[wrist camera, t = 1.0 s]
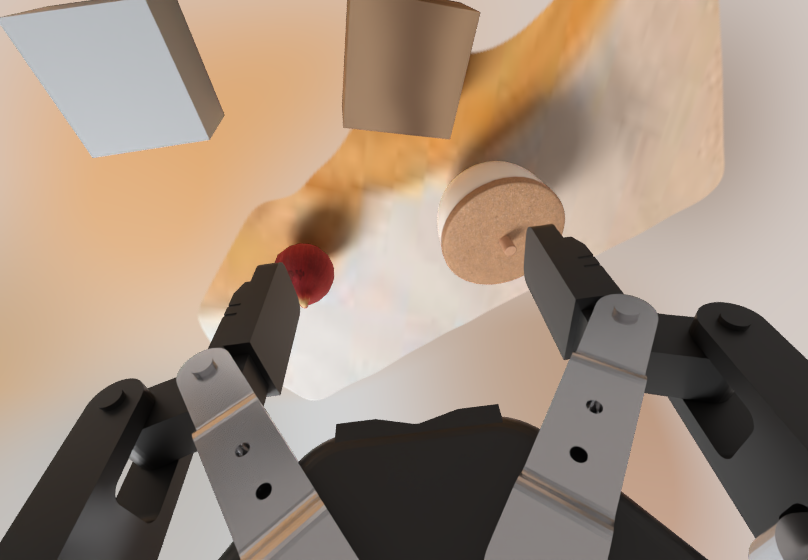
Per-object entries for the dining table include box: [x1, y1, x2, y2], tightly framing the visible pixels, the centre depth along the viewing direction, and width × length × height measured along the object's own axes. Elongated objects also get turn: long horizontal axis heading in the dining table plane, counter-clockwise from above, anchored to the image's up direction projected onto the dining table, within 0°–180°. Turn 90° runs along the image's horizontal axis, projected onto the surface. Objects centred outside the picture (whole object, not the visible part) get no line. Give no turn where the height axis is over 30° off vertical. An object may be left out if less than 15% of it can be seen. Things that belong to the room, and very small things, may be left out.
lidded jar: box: [437, 161, 565, 284], centre depth 35 cm, size 11×11×9 cm
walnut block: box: [342, 0, 480, 139], centre depth 27 cm, size 8×8×5 cm
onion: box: [275, 243, 334, 308], centre depth 37 cm, size 6×6×8 cm
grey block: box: [0, 0, 224, 158], centre depth 25 cm, size 8×8×5 cm
